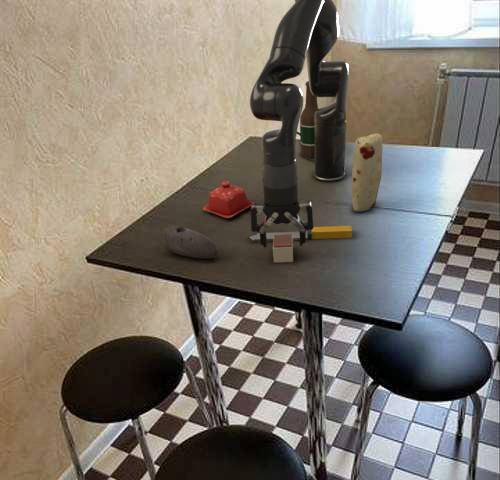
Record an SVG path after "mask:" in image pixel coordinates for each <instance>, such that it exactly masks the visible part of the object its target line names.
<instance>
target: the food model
mask: <svg viewBox="0 0 500 480" xmlns="http://www.w3.org/2000/svg"><path fill="white" fill-rule="evenodd" d="M382 169H383V137H382V135H381V134H380V133H371V134H368V135H366V136H365V135H364V136H359V137H357V138H356V139H355V142H354V152H353V162H352V170H351V201H352V208H353V211H354V212H365V211H369V210H370V209H372V208H373V207H375V206H376V204H377V199H378V193H379V189H380V185H381V181H382Z"/></svg>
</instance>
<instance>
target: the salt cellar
mask: <svg viewBox="0 0 500 480" xmlns="http://www.w3.org/2000/svg"><path fill="white" fill-rule="evenodd" d="M272 256H273V258H272V259H273V263H275V264H276V263H294V240H293V236H292V234H287V235H274V238H273V241H272Z"/></svg>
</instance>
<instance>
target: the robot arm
mask: <svg viewBox="0 0 500 480" xmlns="http://www.w3.org/2000/svg"><path fill="white" fill-rule="evenodd" d="M339 35H340V25H339V14H338V10H337V6H336V4H335V2H334V1H333V0H294V4H293V5H292V6H291V7H290V8H289V9H288V10H287V12H285V14H284V15H283V16H282V18H281V20H279V23H278V25H277V28H276V30H275V33H274V36H273V41H272V45H271V48H270V52H269V57H268V59H267V61H266V63H265V65H264V67H263V68H262V71H261V72H260V73H259V76H258V78H257V80H256V81H255V83H254V85H253V87H252V90H251V92H250V97H249V108H250V111H251V114H252V116H253V117H255V119H257V120H261V121H271V122H281V126H280V128H278V129H273V130H269V131H267V132H265V133H264V134H263V135H262V138H261V155H262V169H261V170H262V174H261V175H262V178H261V180H262V187H263V202H264V203H263V205H257V204H256V203H254V204H252V206H250V228H251V229H250V230H251V232H253V233H255V232H257V233H259V234H260V241H259V242H260V245H261V246H263V248H267V246H268V241H267V237H266V233H267V230H268V229H269V228H270V227H271V226H272V224H274V225H281V224H285V225H290V223H291V224H292V225H293V226H294V227H295V228H296V229H298V230H299V232H300V240H299V247H304V245H305V244H306V242H307V240H306V231H307V230H312V229H313V227H314V216H313V215H314V214H313V203H312V202H311V201H310V200H309V201H307V202H306V203H300V202H299V190H298V189H299V187H298V185H299V184H298V180H299V179H298V178H299V177H298V167H297V155H296V151H297V150H296V149H297V148H296V139H297V135H298V136H299V137H300V131H298V127H299V125H300V117H301V114H302V112H303V109H304V95H303V92H302V90H301V88H300V87H299V86H298V85H297V84H294V83H289V82H288V83H286V82H285V83H283V82H284V81H287V80H290V79H294V78H296V77H299V76H300V75H301V74H302V72H303V70H304V65H305V61H306V65H307V66H306V69H307V79H308V81H309V87H310V91H311V93H312V95H313V96H315V97H317V98H335V100H334V101H333V102H332V103H330V104H328V105H326V106H325V105H324V106H322V107H320V108H319V109H318V110H317V111H316V112H315V158H309V157H308V156H306V155H305V156H304V157H305V159H306V160H308V161H310V162H312V163H314V178H315V179H316V180H317V181H320V182H326V183H330V182H331V183H332V182H337V181H341V180H342V179H344V178H345V176H346V172H345V170H346V145H347V144H346V142H347V141H346V140H347V106H348V105H347V104H348V90H349V80H350V69H349V64H348V63H347V62H346V61H344V60H333V61H329V60H328V61H323V60H324V59H325V58H326V56H327V55H328V54H329V53H330V52H331V51H332V49H333V48H334V46H335V45H336V43H337V41H338V40H339V39H338V38H339ZM304 157H303V158H304ZM300 211H302V213H303V214H304V215H306V217H307V221H306V222H304V221H303V220H302V219H301V217H300V216H299V213H300ZM261 213H263V214H264V215H265V217H264V220H263V221H262V222H261V224H258V217H259V216H260V215H261Z"/></svg>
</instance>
